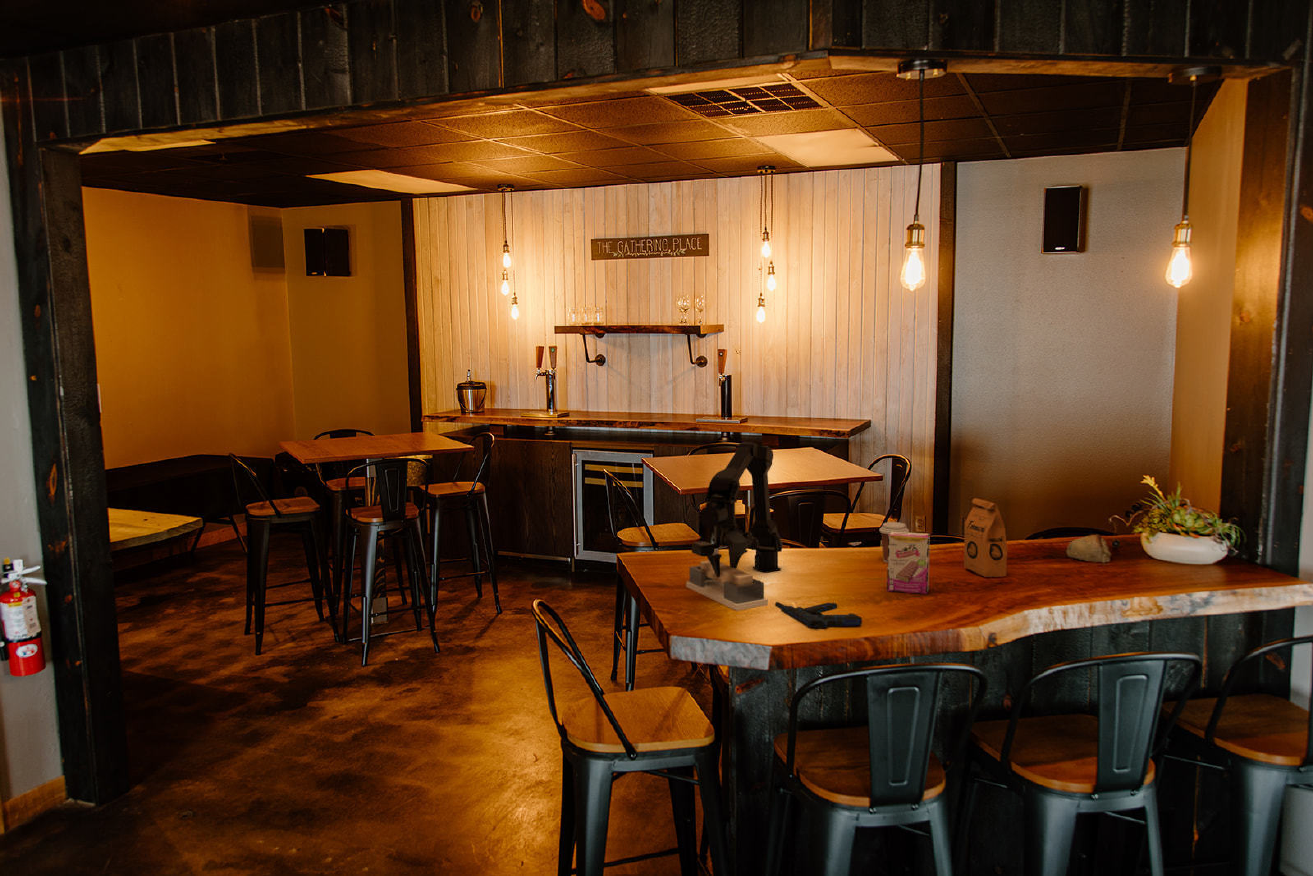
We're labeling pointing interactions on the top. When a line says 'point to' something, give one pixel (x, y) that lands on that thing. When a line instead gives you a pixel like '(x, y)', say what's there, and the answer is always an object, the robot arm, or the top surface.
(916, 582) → the candy bar box
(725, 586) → the end caps
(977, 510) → the coffee package
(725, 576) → the beige rectangular bar
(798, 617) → the gun
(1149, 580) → the top surface
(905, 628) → the top surface
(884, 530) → the coffee cup
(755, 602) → the end-cap board
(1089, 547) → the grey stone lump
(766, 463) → the robot arm
